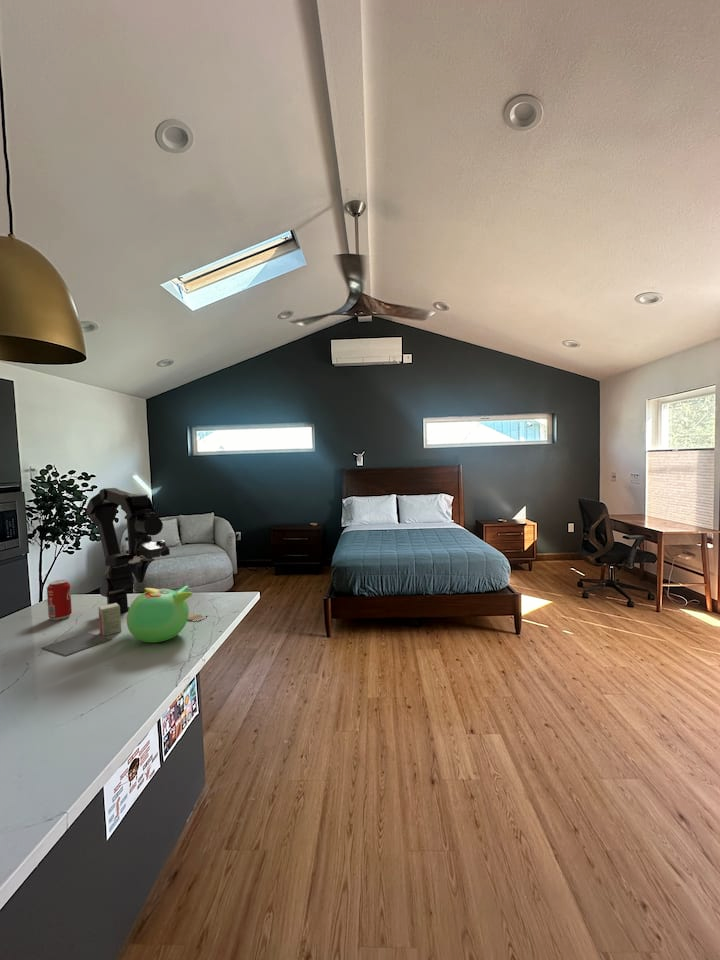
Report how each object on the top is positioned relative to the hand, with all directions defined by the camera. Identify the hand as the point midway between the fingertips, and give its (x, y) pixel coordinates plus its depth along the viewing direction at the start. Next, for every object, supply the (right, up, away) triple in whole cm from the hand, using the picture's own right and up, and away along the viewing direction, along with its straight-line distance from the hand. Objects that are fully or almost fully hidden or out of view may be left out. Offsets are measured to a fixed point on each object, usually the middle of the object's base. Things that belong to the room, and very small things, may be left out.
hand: (140, 582), depth 140 cm
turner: (+13, -12, +2) cm, 17 cm away
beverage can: (-29, -13, +6) cm, 33 cm away
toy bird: (+14, -12, -15) cm, 24 cm away
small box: (-4, -13, -9) cm, 16 cm away
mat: (-9, -13, -17) cm, 23 cm away
